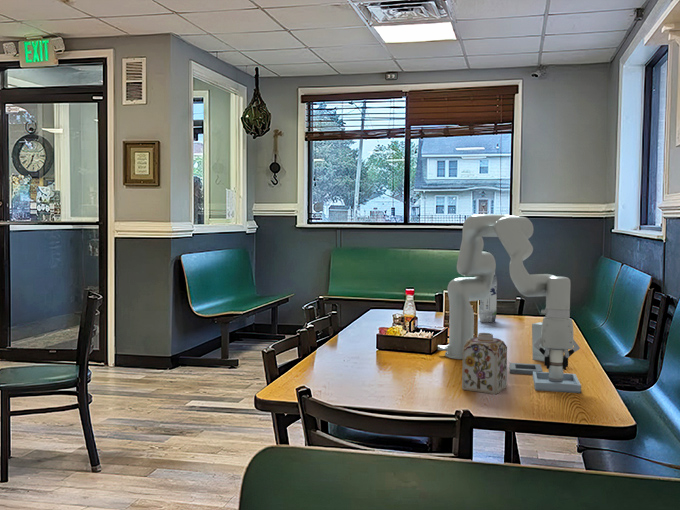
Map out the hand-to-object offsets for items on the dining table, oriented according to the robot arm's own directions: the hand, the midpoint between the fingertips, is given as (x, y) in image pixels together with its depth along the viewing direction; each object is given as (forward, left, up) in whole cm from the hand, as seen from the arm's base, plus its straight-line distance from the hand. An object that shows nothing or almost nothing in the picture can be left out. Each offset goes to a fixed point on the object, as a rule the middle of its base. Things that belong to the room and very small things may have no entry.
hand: (556, 367), depth 220 cm
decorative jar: (-23, -10, -6) cm, 26 cm away
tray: (0, 0, -6) cm, 6 cm away
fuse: (0, 0, -4) cm, 4 cm away
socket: (-9, +18, -6) cm, 21 cm away
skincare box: (-1, +38, -6) cm, 38 cm away
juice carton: (-24, +133, -6) cm, 135 cm away
